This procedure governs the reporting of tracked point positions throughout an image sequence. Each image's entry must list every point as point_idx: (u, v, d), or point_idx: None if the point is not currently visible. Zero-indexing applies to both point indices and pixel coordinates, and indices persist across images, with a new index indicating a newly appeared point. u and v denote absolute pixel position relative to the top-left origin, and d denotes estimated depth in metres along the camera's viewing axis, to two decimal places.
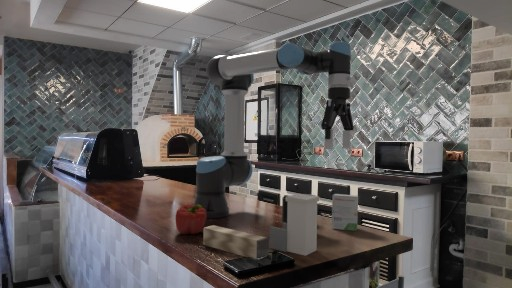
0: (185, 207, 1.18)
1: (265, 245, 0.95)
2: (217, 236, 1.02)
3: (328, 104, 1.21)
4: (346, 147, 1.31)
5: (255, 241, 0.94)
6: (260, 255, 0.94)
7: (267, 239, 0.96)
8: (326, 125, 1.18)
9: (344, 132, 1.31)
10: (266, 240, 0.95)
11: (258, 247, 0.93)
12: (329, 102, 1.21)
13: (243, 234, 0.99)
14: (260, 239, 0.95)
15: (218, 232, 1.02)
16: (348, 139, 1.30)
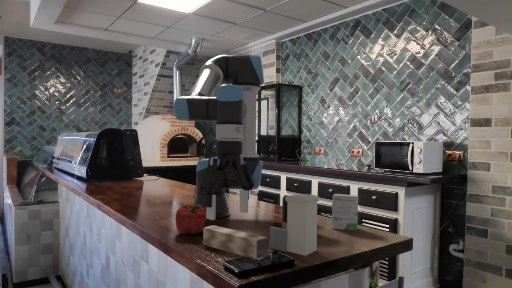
0: (185, 207, 1.18)
1: (265, 245, 0.95)
2: (217, 236, 1.02)
3: (210, 163, 0.97)
4: (243, 211, 1.07)
5: (255, 241, 0.94)
6: (260, 255, 0.94)
7: (267, 239, 0.96)
8: (203, 191, 0.94)
9: (241, 192, 1.08)
10: (266, 240, 0.95)
11: (258, 247, 0.93)
12: (211, 161, 0.97)
13: (243, 234, 0.99)
14: (260, 239, 0.94)
15: (218, 232, 1.02)
16: (245, 201, 1.06)
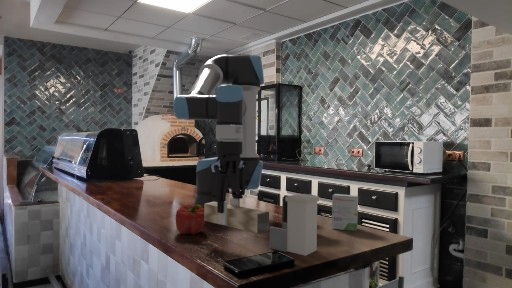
0: (185, 207, 1.18)
1: (266, 219, 0.96)
2: None
3: (212, 170, 0.98)
4: None
5: (256, 215, 0.94)
6: (261, 228, 0.94)
7: (268, 213, 0.96)
8: (216, 199, 0.98)
9: (231, 200, 1.05)
10: (267, 214, 0.96)
11: (259, 221, 0.94)
12: (212, 168, 0.97)
13: (244, 209, 1.00)
14: (261, 213, 0.95)
15: None
16: None
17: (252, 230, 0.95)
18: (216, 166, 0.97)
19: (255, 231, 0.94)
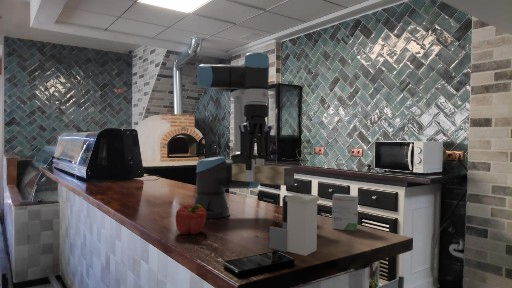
0: (185, 207, 1.18)
1: (291, 173, 1.04)
2: (245, 170, 1.11)
3: (241, 130, 1.07)
4: None
5: (282, 168, 1.03)
6: (287, 181, 1.02)
7: (293, 168, 1.05)
8: (245, 156, 1.07)
9: (257, 161, 1.14)
10: (292, 169, 1.04)
11: (285, 174, 1.02)
12: (242, 128, 1.06)
13: (270, 166, 1.08)
14: (287, 167, 1.03)
15: None
16: None
17: (279, 183, 1.04)
18: (245, 125, 1.06)
19: (282, 184, 1.03)
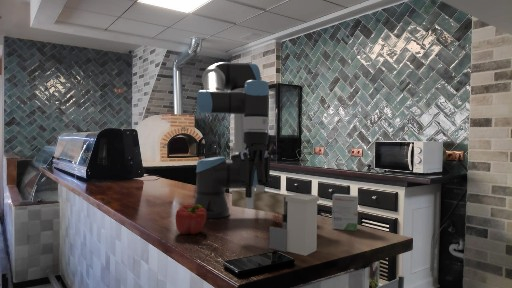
0: (185, 207, 1.18)
1: None
2: (245, 197, 1.11)
3: (241, 158, 1.07)
4: None
5: (282, 197, 1.03)
6: None
7: None
8: (245, 184, 1.07)
9: (257, 187, 1.14)
10: None
11: (285, 202, 1.02)
12: (242, 156, 1.07)
13: (270, 193, 1.08)
14: None
15: None
16: None
17: (279, 212, 1.04)
18: (245, 153, 1.06)
19: (282, 212, 1.03)
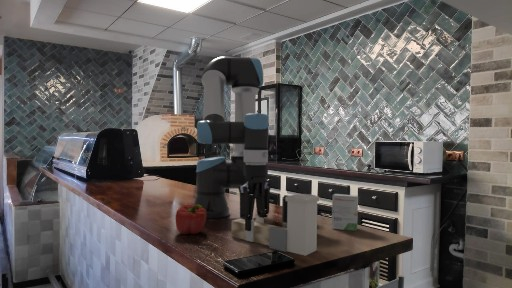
0: (185, 207, 1.18)
1: None
2: None
3: (241, 191, 1.07)
4: None
5: None
6: None
7: None
8: (245, 218, 1.07)
9: (257, 219, 1.14)
10: None
11: None
12: (241, 190, 1.07)
13: (269, 226, 1.08)
14: None
15: None
16: None
17: None
18: (245, 188, 1.06)
19: None
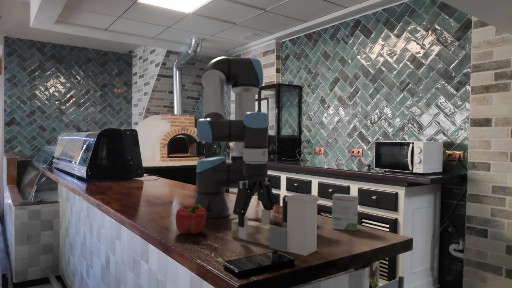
0: (185, 207, 1.18)
1: None
2: None
3: (240, 186, 1.07)
4: None
5: None
6: None
7: None
8: (237, 213, 1.05)
9: (263, 212, 1.16)
10: None
11: None
12: (240, 184, 1.06)
13: (269, 226, 1.08)
14: None
15: None
16: (267, 220, 1.16)
17: None
18: (245, 183, 1.06)
19: None
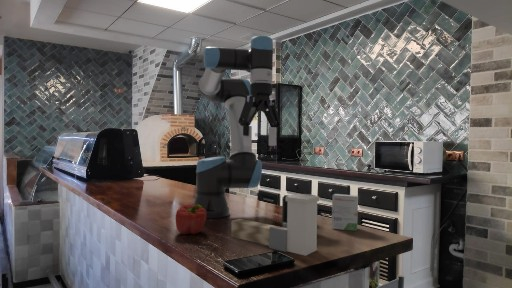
0: (185, 207, 1.18)
1: None
2: (245, 228, 1.12)
3: (247, 100, 1.18)
4: (272, 144, 1.28)
5: None
6: None
7: None
8: (243, 121, 1.15)
9: (270, 129, 1.28)
10: None
11: None
12: (248, 98, 1.17)
13: (269, 226, 1.08)
14: None
15: (246, 225, 1.11)
16: (273, 136, 1.27)
17: None
18: (252, 96, 1.17)
19: None
